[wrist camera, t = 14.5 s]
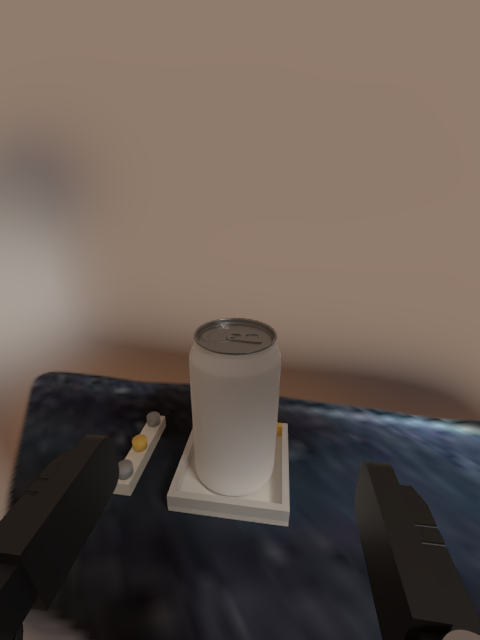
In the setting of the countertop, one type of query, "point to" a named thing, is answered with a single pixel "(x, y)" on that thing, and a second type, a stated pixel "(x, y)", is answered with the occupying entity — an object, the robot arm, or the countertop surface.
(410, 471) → the countertop surface
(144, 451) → the indicator bank
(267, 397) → the can
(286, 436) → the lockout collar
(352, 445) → the countertop surface
